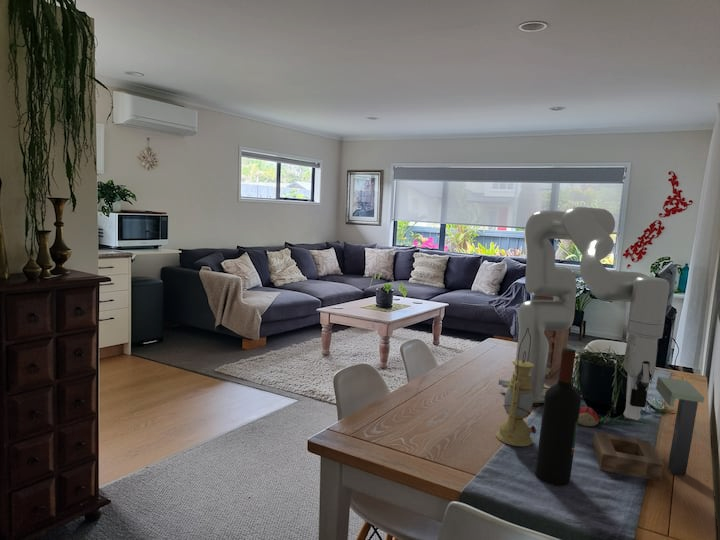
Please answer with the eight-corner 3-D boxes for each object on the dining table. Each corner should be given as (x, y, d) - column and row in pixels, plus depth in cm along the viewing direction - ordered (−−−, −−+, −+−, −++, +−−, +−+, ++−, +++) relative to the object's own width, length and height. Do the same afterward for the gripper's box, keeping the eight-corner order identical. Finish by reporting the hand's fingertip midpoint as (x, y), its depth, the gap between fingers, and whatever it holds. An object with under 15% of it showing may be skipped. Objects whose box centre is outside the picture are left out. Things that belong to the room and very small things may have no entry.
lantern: (528, 453, 132) (542, 336, 127) (489, 441, 137) (502, 328, 132) (539, 436, 142) (553, 327, 138) (503, 426, 147) (515, 320, 143)
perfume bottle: (645, 421, 126) (654, 360, 124) (625, 419, 127) (634, 358, 125) (639, 414, 130) (648, 355, 128) (620, 411, 131) (628, 353, 129)
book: (541, 358, 217) (550, 286, 213) (565, 363, 212) (574, 289, 208) (524, 372, 196) (533, 293, 192) (549, 379, 191) (560, 297, 187)
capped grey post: (657, 479, 123) (672, 392, 120) (645, 456, 135) (657, 376, 132) (691, 486, 121) (706, 397, 119) (675, 462, 133) (689, 381, 130)
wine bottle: (529, 468, 124) (545, 344, 120) (560, 468, 125) (577, 345, 121) (543, 485, 117) (560, 354, 113) (576, 486, 117) (594, 356, 113)
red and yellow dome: (572, 424, 152) (574, 413, 152) (573, 412, 161) (575, 401, 161) (598, 430, 149) (600, 418, 149) (597, 418, 158) (599, 406, 158)
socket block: (600, 469, 126) (602, 453, 125) (592, 446, 138) (594, 431, 138) (660, 481, 123) (663, 465, 122) (646, 456, 135) (649, 441, 135)
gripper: (620, 319, 135) (611, 388, 137) (635, 334, 119) (625, 412, 121) (653, 323, 133) (643, 393, 135) (673, 338, 117) (661, 418, 119)
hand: (634, 401), depth 128 cm, fingers closed on perfume bottle, 4 cm apart
